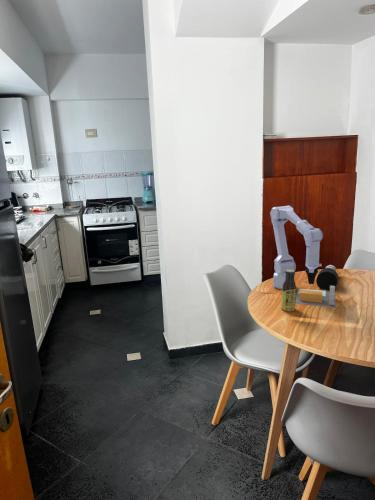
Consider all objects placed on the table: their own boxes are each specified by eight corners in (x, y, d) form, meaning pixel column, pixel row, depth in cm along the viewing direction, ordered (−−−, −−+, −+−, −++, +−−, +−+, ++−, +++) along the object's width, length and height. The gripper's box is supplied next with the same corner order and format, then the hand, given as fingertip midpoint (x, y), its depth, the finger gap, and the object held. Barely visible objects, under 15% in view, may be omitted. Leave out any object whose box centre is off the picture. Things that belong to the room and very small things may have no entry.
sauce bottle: (285, 315, 164) (286, 273, 159) (278, 310, 170) (279, 269, 165) (298, 313, 166) (299, 271, 160) (291, 308, 171) (292, 267, 166)
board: (294, 306, 173) (294, 303, 173) (298, 291, 191) (298, 288, 191) (335, 310, 167) (335, 307, 166) (335, 294, 185) (335, 291, 184)
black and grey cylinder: (334, 280, 217) (344, 265, 214) (330, 294, 187) (341, 278, 184) (318, 271, 220) (328, 256, 217) (312, 284, 190) (322, 267, 187)
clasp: (329, 304, 169) (330, 290, 167) (329, 297, 177) (330, 283, 175) (333, 305, 168) (334, 290, 166) (333, 298, 176) (334, 283, 174)
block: (299, 300, 176) (299, 292, 175) (300, 297, 179) (300, 289, 178) (321, 302, 172) (322, 294, 171) (322, 299, 176) (322, 291, 175)
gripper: (321, 259, 162) (319, 288, 166) (322, 251, 175) (320, 278, 179) (304, 258, 165) (303, 287, 168) (306, 250, 178) (305, 277, 181)
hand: (311, 282), depth 173 cm, fingers open, 3 cm apart
